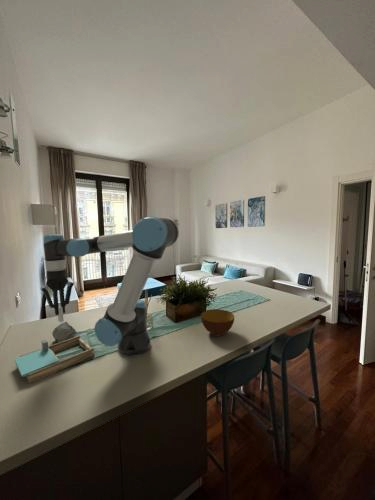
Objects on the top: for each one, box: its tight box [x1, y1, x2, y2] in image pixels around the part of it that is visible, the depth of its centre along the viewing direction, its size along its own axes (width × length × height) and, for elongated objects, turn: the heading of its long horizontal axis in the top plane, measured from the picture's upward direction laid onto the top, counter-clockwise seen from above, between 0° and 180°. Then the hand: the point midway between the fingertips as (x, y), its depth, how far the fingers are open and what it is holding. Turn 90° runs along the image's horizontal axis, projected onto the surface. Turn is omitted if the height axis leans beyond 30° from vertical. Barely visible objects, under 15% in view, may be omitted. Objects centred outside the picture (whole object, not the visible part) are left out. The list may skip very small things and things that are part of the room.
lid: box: [14, 339, 59, 378], centre depth 88 cm, size 15×12×5 cm
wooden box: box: [18, 335, 95, 384], centre depth 94 cm, size 17×24×3 cm
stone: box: [51, 321, 78, 343], centre depth 110 cm, size 10×10×10 cm
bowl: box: [200, 308, 235, 337], centre depth 117 cm, size 18×18×10 cm
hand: (60, 320), depth 99 cm, fingers closed
